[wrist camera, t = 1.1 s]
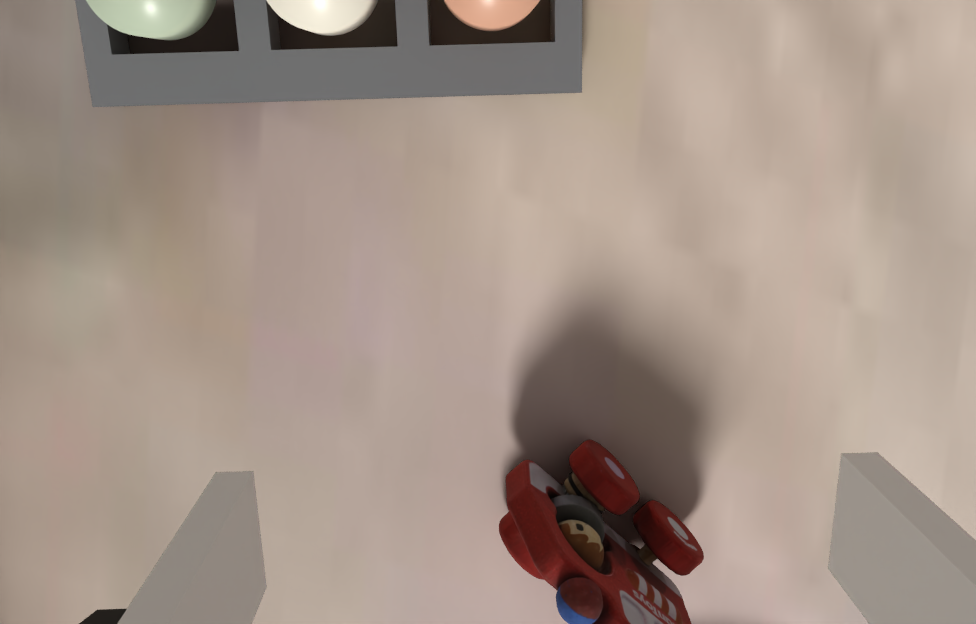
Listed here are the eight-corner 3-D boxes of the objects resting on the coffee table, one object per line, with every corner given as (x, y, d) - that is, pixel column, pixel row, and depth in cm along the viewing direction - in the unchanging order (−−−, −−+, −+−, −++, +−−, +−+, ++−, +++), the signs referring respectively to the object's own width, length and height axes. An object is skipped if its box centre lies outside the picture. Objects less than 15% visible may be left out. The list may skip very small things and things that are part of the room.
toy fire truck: (560, 404, 42) (588, 504, 32) (711, 545, 45) (781, 677, 35) (469, 489, 43) (470, 610, 33) (621, 620, 46) (664, 769, 36)
